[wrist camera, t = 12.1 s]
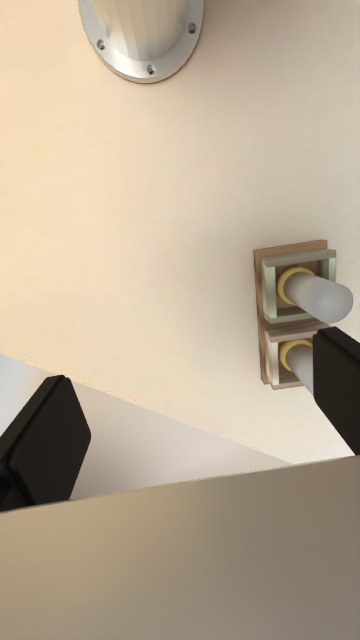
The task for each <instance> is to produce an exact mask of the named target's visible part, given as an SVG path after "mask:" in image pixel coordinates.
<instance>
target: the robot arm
mask: <svg viewBox="0 0 360 640" xmlns="http://www.w3.org/2000/svg"><path fill="white" fill-rule="evenodd" d="M78 4H79V12H80V16H81V20H82V23H83V27H84V30H85V32H86V35H87V37H88V39H89V41H90V43H91V45H92V47H93V49H94V51H95V52H96V54H97V55H98V56H99V58H100V59H101V60H102V62H103V63H104V64H105V65H106V66H107V67H108V68H109V69H110V70H112V71H113V72H114V73H116V74H117V75H119V76H120V77H122V78H124V79H127V80H130V81H132V82H137V83H153V82H158V81H161V80H163V79H166V78H168V77H169V76H171V75H172V74H174V73H176V72H177V71H178V70H179V69H180V68H181V67H182V66H183V65H184V64H185V62H186V61H187V59H188V58H189V57H190V55H191V54H192V52H193V50H194V47H195V45H196V43H197V41H198V37H199V34H200V30H201V26H202V19H203V10H204V0H78ZM190 32H193V33H194V34H190ZM102 47H104V49H103V50H101V48H102ZM151 71H153V72H154V74H152V75H151V74H150V72H151ZM313 396H314V399H315V402H316V404H317V405H318V406H319V408H320V409H321V410H322V412H323V413H324V414H325V416H326V417H327V418H328V420H329V421H330V422H331V423H332V425H333V426H334V427H335V429H336V430H337V431H338V433H339V434H340V435H341V437H342V438H343V439H344V441H345V442H346V443H347V445H348V446H349V447H350V449H351V450H352V451H353V453H354V454H355V455H356V456H349V457H342V458H335V459H328V460H322V461H315V462H308V463H301V464H295V465H288V466H281V467H275V468H268V469H262V470H255V471H249V472H242V473H235V474H229V475H223V476H216V477H209V478H203V479H196V480H190V481H184V482H178V483H171V484H165V485H158V486H152V487H145V488H140V489H133V490H127V491H121V492H114V493H108V494H102V495H96V496H90V497H84V498H77V499H71V500H69V498H70V496H71V493H72V490H73V487H74V484H75V482H76V479H77V476H78V474H79V471H80V468H81V465H82V462H83V460H84V457H85V454H86V452H87V449H88V446H89V443H90V440H91V432H90V429H89V426H88V424H87V421H86V419H85V416H84V413H83V411H82V409H81V406H80V403H79V401H78V398H77V396H76V393H75V390H74V388H73V385H72V383H71V380H70V379H69V378H68V377H67V378H66V377H65V376H64V375H57V376H52V377H47V378H46V379H45V380H44V381H43V383H42V384H41V385H40V386H39V388H38V389H37V391H36V392H35V393H34V394H33V396H32V397H31V398H30V399H29V401H28V402H27V403H26V405H25V406H24V407H23V409H22V410H21V411H20V413H19V414H18V415H17V416H16V418H15V419H14V420H13V421H12V423H11V424H10V425H9V426H8V428H7V429H6V430H5V432H4V433H3V434H2V436H1V437H0V640H360V343H359V342H357V341H356V340H354V339H353V338H352V337H350V336H349V335H347V334H346V333H344V332H343V331H341V330H340V329H339V328H337V327H329V328H323V329H319V330H318V331H317V334H314V335H313Z"/></svg>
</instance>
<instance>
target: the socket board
mask: <svg viewBox="0 0 360 640" xmlns="http://www.w3.org/2000/svg"><path fill="white" fill-rule="evenodd" d="M290 266H300V267H303V268H306V269H308V270H310V271H312V272H313V273H314V274H315V276H318V277H321V278H324V279H326V280H329V281H332V282H335V273H336V250H330V249H327V240H316V241H309V242H303V243H296V244H290V245H283V246H277V247H270V248H264V249H257V250H254V267H255V283H256V300H257V317H258V334H259V351H260V368H261V380H262V382H263V383H264V384H270V385H271V387H272V388H273V390H277V389H284V388H292V387H299V386H305V385H304V384H303V383H302V382H301V381H300V380H299V378H298V377H297V376H296V375H295V374H294V373H293V372H291V371H289V370H288V369H286V368H285V367H284V365H283V364H282V363H281V362H280V361H279V359H278V346H279V344H280V343H281V342H282V341H289V340H296V339H303V338H305V339H306V340H307V341H309V342H310V343H311V344H312V345H313V335H314V334H317V331H318V330H319V329H323V328H329V327H330V326H329V325H327V324H326V323H324V322H322V321H320V320H318V319H317V318H315V317H314V316H312V315H311V314H309V313H308V312H306V311H305V310H303V309H302V308H300V307H298V306H297V305H291V304H288V303H287V302H285V301H284V300H282V299H281V298H280V297H278V295H277V294H276V283H275V280H276V277H277V276H278V274H279V273H280V272H281V271H282V270H283V269H285V268H287V267H290Z"/></svg>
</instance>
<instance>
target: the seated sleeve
mask: <svg viewBox="0 0 360 640" xmlns="http://www.w3.org/2000/svg"><path fill="white" fill-rule="evenodd" d="M275 283H276V294H277V295H278V297H280V298H281V299H282V300H284V301H285V302H287V303H288V304H291V305H297V306H298V307H300V308H302V309H303V310H305V311H306V312H308V313H309V314H311V315H312V316H314V317H315V318H317V319H318V320H320V321H322V322H324V323H335V322H338V321H340V320H342V319H343V318H344V317H345V316H347V314H348V313H349V312H350V310H351V308H352V305H353V295H352V293H351V291H350V290H349V289H348V288H347V287H345V286H343V285H340V284H337V283H335V282H332V281H329V280H326V279H324V278H321V277H318V276H315V274H314V273H313V272H312V271H310V270H308V269H306V268H303V267H300V266H290V267H287V268H285V269H283V270H282V271H281V272H280V273H279V274H278V276H277V277H276V280H275Z"/></svg>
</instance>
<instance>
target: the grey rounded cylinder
mask: <svg viewBox="0 0 360 640" xmlns="http://www.w3.org/2000/svg"><path fill="white" fill-rule="evenodd" d="M278 359H279V361H280V362H281V363H282V364H283V365H284V367H285V368H286V369H288V370H289V371H291V372H293V373H294V374H295V375H296V376H297V377H298V378H299V380H300V381H301V382H302V383H303V384H304V385H305V387H306V388H307V389H308V390H309V391H310V392H311V394H312V395H313V345H312V344H311V343H310V342H309V341H307V340H306V339H305V338H303V339H296V340H289V341H282V342H281V343H280V344H279V346H278Z"/></svg>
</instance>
